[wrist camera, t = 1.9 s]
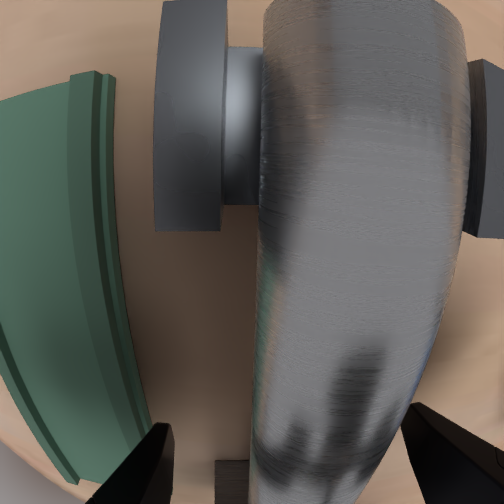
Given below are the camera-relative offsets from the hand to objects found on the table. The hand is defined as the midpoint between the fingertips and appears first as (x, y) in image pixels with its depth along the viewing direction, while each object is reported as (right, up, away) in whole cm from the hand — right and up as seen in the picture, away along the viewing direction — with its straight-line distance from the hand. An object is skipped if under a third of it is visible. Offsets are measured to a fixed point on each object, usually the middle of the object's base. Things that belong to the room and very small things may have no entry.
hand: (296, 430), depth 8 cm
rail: (0, 0, 0) cm, 0 cm away
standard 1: (0, +9, +1) cm, 9 cm away
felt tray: (-9, +1, +2) cm, 10 cm away
